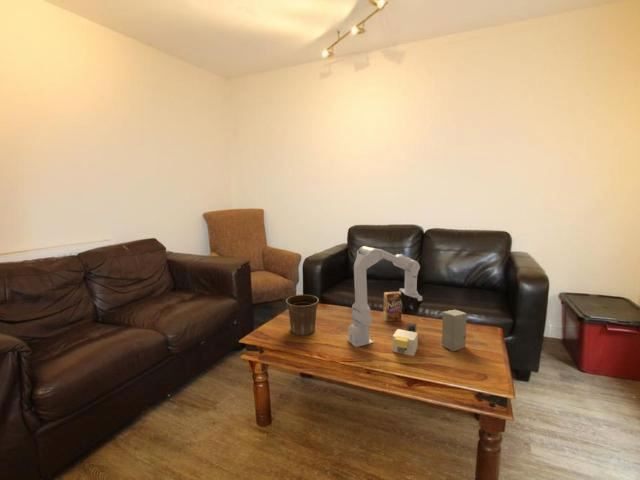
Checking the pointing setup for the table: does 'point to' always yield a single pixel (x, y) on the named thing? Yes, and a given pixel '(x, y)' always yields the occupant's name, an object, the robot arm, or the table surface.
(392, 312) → the candy box
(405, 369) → the table surface
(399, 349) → the shaft
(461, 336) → the skincare box
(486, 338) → the table surface
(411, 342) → the bearing block
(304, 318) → the plant pot
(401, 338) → the block
